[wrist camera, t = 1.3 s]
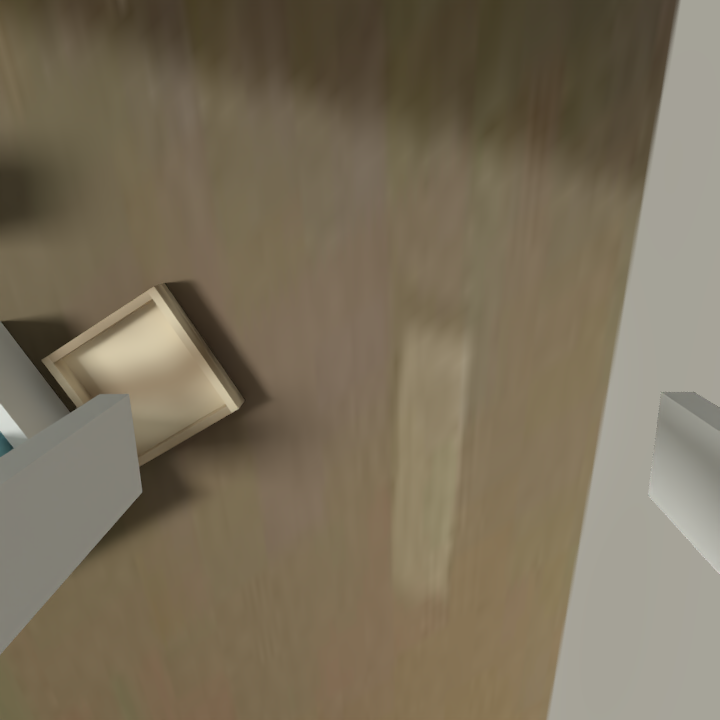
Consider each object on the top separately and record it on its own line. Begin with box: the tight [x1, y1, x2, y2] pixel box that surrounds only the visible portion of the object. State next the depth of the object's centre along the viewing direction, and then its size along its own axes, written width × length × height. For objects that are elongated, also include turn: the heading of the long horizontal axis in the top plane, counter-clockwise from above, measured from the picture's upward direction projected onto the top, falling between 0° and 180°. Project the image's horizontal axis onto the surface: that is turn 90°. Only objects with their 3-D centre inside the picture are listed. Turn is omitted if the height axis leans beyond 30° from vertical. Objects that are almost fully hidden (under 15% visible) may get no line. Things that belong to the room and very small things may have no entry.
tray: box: [41, 283, 245, 467], centre depth 40 cm, size 10×10×2 cm
